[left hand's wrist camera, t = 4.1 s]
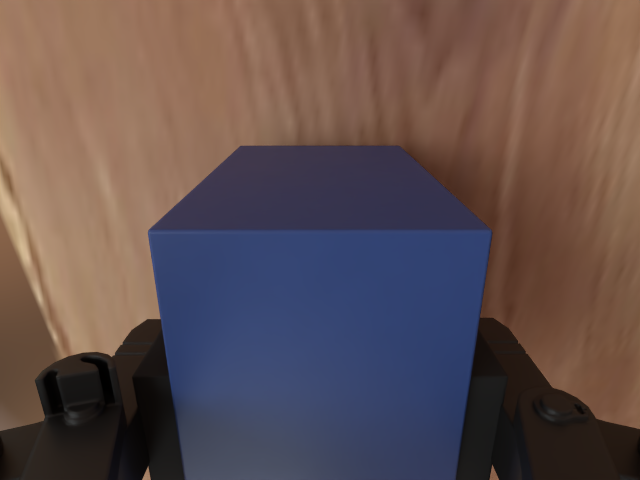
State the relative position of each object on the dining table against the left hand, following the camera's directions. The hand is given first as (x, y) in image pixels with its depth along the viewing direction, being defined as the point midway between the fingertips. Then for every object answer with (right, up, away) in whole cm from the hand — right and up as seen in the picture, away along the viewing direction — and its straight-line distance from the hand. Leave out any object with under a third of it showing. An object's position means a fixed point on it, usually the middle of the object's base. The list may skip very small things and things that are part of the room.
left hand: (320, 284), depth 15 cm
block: (0, +1, +2) cm, 2 cm away
